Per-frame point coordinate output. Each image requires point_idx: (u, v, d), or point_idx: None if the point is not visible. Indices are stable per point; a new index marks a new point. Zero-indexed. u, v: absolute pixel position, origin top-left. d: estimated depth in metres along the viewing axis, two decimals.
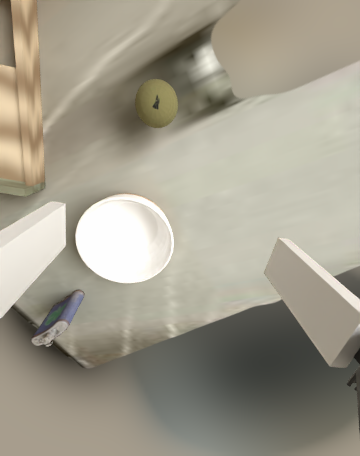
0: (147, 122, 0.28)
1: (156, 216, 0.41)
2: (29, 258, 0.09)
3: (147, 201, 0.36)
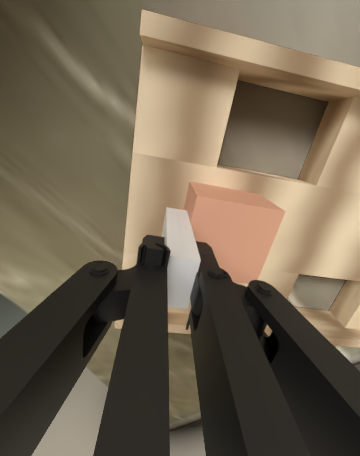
0: None
1: None
2: None
3: None
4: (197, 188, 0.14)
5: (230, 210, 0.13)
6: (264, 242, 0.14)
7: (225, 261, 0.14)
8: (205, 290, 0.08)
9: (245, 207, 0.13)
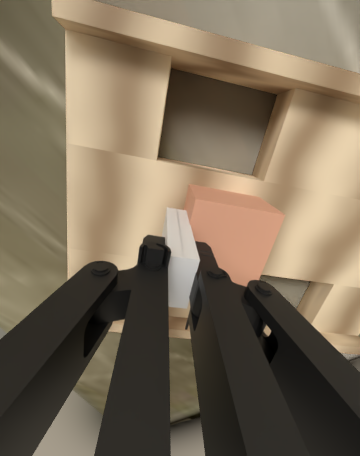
0: None
1: None
2: None
3: None
4: (196, 191, 0.14)
5: (229, 213, 0.13)
6: (263, 246, 0.14)
7: (225, 265, 0.14)
8: (204, 290, 0.08)
9: (245, 210, 0.13)
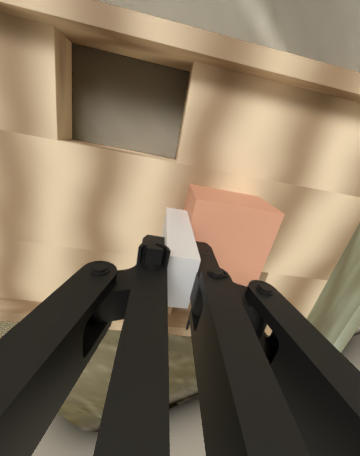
0: None
1: None
2: None
3: None
4: (197, 191, 0.14)
5: (229, 213, 0.13)
6: (263, 245, 0.14)
7: (225, 263, 0.14)
8: (205, 290, 0.08)
9: (245, 209, 0.13)
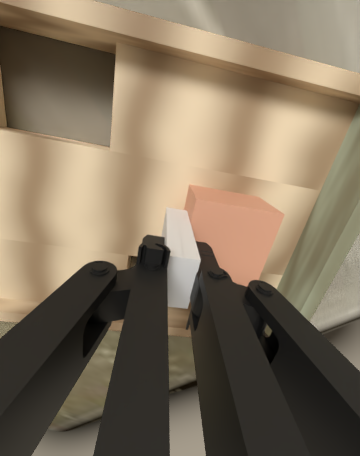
0: None
1: None
2: None
3: None
4: (196, 191, 0.14)
5: (229, 213, 0.13)
6: (263, 245, 0.14)
7: (225, 264, 0.14)
8: (204, 290, 0.08)
9: (245, 210, 0.13)
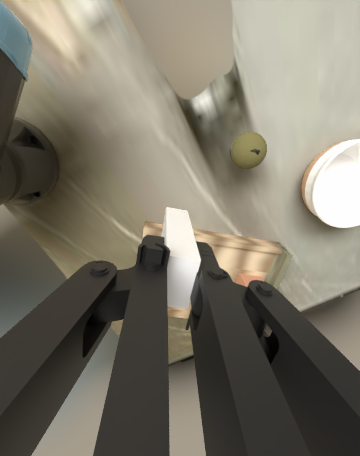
0: None
1: None
2: None
3: (319, 162, 0.38)
4: (243, 279, 0.49)
5: None
6: None
7: None
8: (205, 290, 0.08)
9: None
